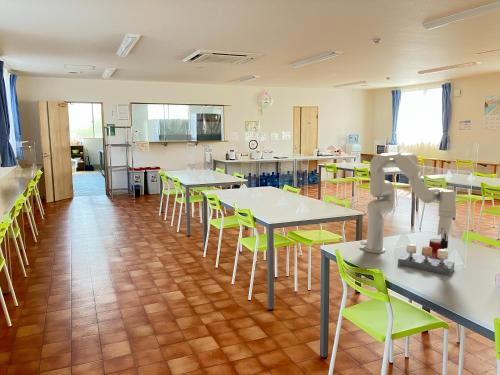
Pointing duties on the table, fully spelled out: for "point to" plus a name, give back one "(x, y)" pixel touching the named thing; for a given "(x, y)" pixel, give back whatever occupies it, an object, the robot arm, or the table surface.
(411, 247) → the knob
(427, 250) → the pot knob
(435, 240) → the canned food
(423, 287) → the table surface
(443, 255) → the knob
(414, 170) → the robot arm
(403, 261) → the console
